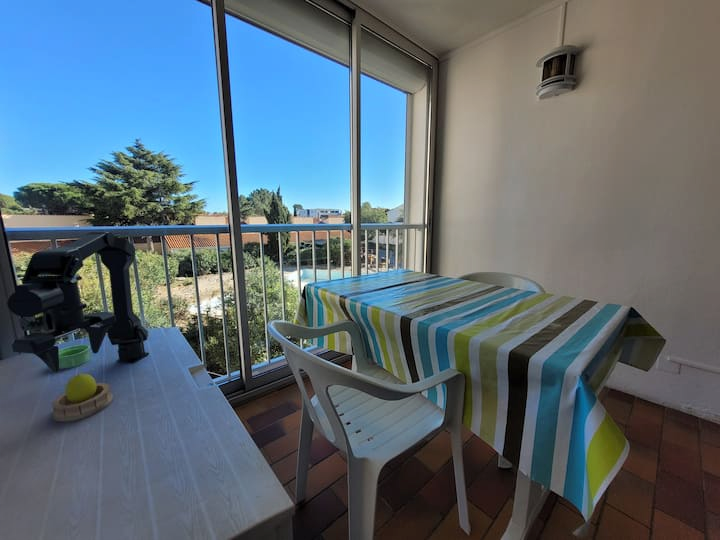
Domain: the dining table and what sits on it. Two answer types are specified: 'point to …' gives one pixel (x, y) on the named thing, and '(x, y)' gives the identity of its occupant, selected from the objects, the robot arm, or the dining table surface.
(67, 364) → the ramekin
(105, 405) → the wooden bowl
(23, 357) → the dining table surface
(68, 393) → the lemon
